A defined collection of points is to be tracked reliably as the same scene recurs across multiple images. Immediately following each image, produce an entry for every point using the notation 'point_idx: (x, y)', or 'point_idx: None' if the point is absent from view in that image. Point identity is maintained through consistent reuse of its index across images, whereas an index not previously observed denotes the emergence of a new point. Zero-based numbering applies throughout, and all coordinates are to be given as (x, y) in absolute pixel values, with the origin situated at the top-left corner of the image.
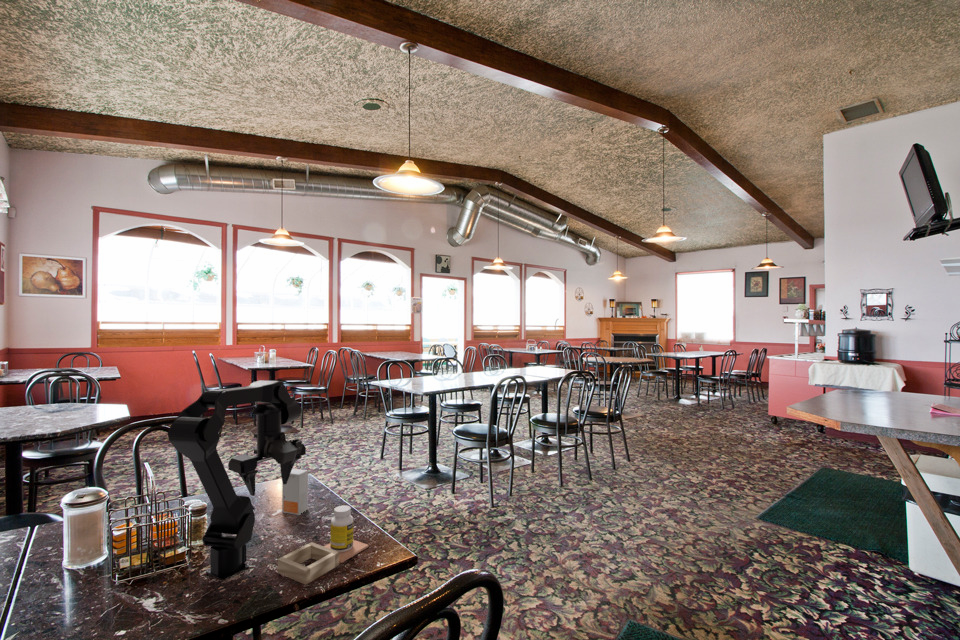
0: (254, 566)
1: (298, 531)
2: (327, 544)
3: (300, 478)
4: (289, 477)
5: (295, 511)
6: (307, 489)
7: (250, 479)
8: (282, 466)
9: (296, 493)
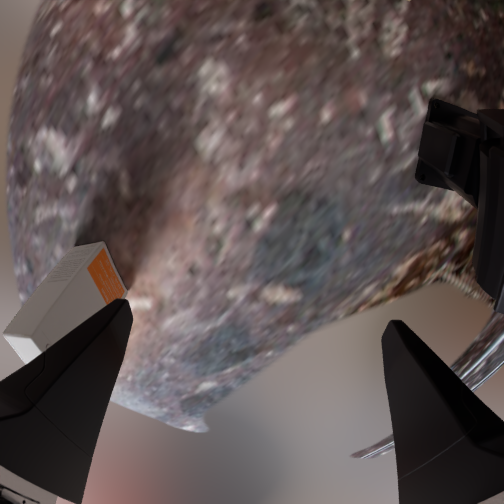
0: (416, 90)
1: (167, 145)
2: None
3: (34, 323)
4: None
5: (104, 257)
6: (39, 285)
7: (494, 415)
8: (85, 431)
9: (74, 293)
